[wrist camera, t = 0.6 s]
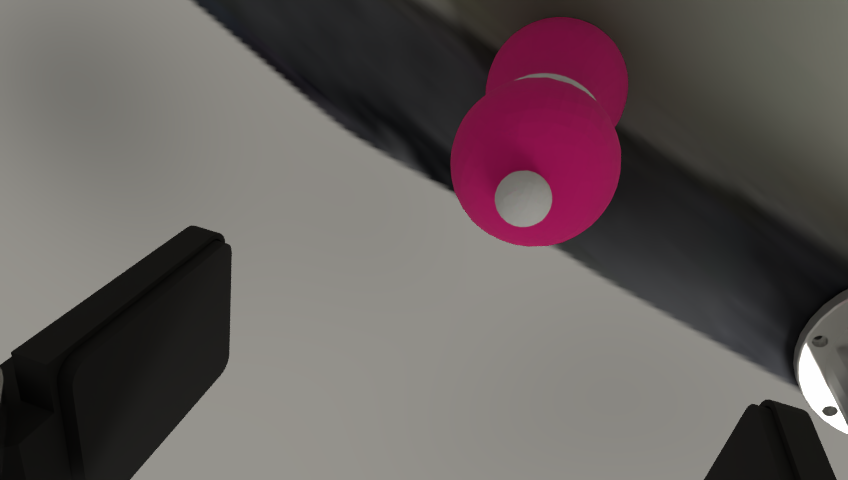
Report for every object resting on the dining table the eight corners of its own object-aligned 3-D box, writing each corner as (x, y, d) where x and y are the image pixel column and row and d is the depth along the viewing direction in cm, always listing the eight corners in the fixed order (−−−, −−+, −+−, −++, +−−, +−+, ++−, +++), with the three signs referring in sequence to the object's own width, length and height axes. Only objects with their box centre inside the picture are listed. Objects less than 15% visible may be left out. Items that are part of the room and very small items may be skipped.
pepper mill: (595, 149, 37) (589, 342, 20) (483, 111, 38) (382, 265, 20) (647, 30, 33) (694, 139, 16) (522, -10, 34) (438, 54, 17)
